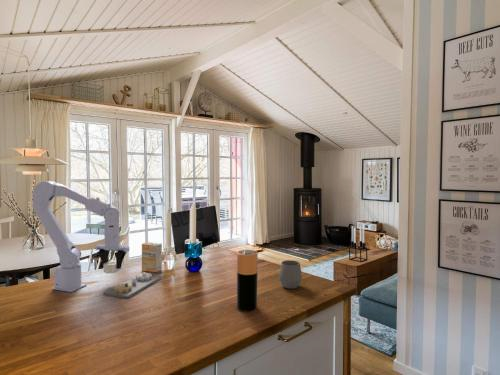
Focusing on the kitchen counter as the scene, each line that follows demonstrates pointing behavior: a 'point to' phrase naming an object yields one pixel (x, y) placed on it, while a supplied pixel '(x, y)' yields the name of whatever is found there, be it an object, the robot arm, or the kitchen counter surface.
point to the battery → (247, 280)
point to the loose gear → (111, 267)
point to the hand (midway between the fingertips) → (112, 267)
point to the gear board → (132, 285)
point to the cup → (290, 274)
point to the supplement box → (151, 257)
